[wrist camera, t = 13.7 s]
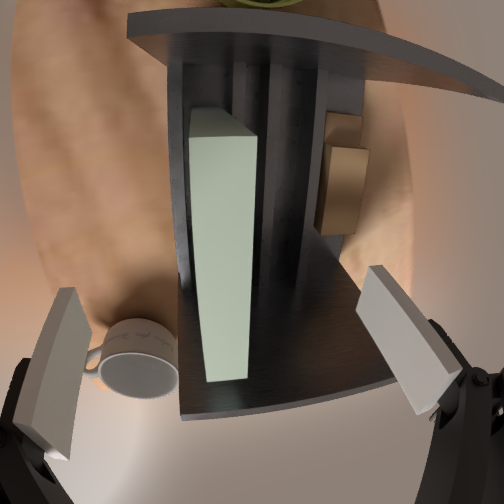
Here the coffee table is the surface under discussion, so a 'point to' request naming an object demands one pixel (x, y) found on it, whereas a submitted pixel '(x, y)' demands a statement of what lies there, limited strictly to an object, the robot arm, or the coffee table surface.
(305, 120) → the rack
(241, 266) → the sage panel
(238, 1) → the plant pot
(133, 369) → the teacup
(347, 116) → the offcut lower
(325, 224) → the offcut upper
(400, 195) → the coffee table surface
